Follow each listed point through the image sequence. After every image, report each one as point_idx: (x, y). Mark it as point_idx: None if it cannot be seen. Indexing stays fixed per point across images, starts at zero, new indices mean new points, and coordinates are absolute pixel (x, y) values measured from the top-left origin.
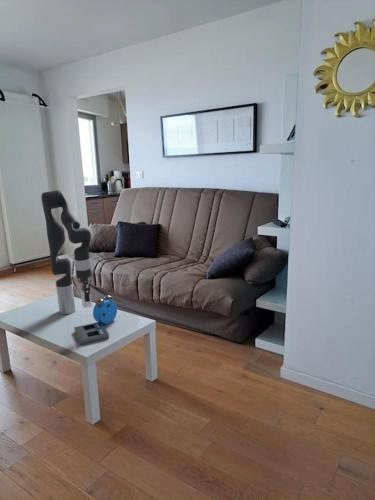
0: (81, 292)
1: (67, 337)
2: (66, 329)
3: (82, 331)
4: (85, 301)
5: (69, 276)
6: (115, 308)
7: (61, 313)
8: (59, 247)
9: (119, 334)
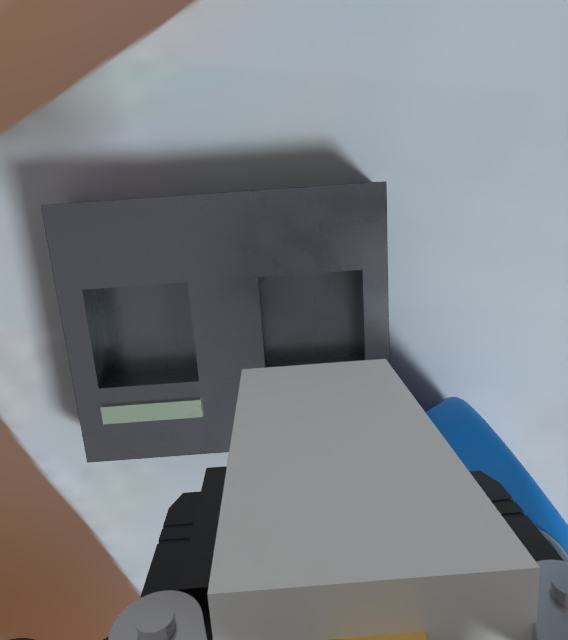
0: (429, 544)
1: (300, 105)
2: (492, 111)
3: (240, 250)
4: (206, 469)
5: None
6: None
7: None
8: None
9: (156, 518)
